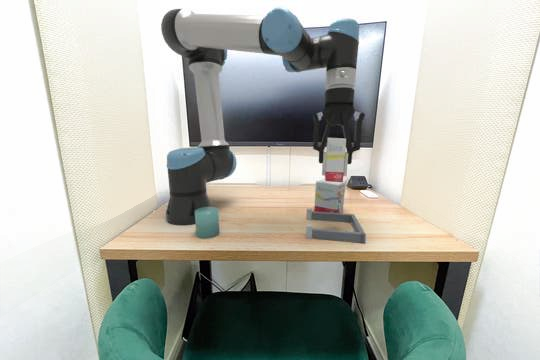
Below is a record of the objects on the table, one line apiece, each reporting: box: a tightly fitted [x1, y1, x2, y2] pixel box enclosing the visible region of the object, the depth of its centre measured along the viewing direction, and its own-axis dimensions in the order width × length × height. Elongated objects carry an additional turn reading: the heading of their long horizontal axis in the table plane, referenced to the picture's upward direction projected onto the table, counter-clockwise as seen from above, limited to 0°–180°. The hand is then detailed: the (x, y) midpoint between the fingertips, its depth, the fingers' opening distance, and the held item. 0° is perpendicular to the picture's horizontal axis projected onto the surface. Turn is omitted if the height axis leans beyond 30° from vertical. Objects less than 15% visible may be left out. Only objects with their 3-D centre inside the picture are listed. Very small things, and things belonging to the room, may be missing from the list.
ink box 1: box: [324, 137, 347, 182], centre depth 60 cm, size 9×5×12 cm, turn 165°
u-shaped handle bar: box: [305, 207, 367, 244], centre depth 64 cm, size 15×15×4 cm
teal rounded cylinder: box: [194, 206, 220, 240], centre depth 60 cm, size 6×6×7 cm
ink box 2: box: [313, 178, 346, 213], centre depth 78 cm, size 9×9×12 cm
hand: (333, 174), depth 61 cm, fingers closed on ink box 1, 5 cm apart
